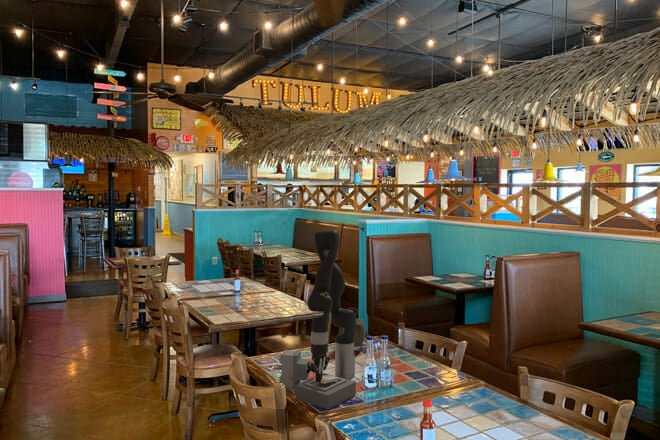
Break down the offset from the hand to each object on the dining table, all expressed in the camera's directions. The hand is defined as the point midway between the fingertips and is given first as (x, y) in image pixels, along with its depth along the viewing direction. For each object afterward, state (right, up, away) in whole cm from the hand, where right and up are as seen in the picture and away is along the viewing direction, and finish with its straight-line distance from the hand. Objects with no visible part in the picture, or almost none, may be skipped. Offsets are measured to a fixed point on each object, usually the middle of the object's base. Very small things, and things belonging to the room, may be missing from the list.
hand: (318, 381), depth 218 cm
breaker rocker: (+3, 0, +4) cm, 5 cm away
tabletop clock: (+17, -6, +73) cm, 75 cm away
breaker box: (+3, -8, +4) cm, 10 cm away
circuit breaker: (-11, -8, +19) cm, 23 cm away
